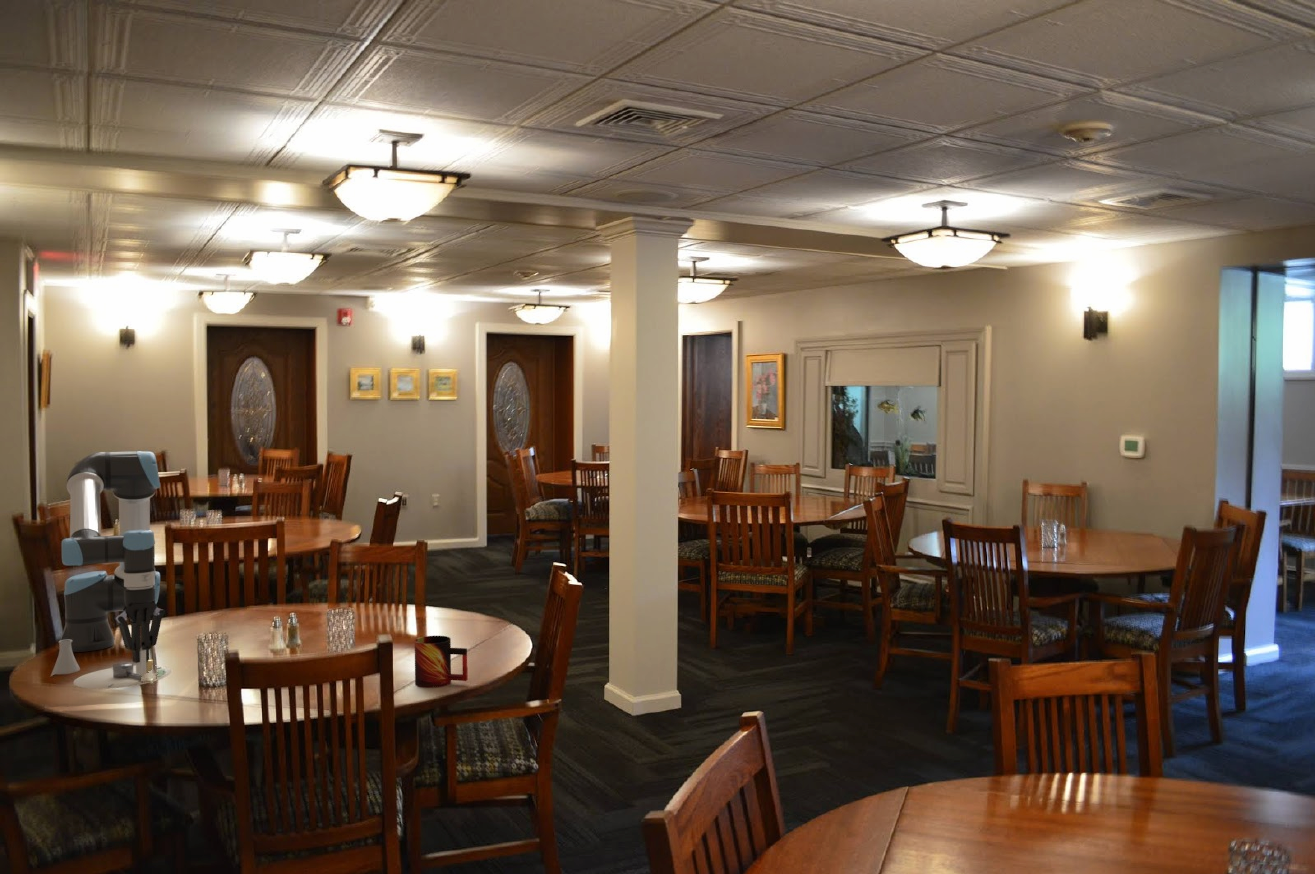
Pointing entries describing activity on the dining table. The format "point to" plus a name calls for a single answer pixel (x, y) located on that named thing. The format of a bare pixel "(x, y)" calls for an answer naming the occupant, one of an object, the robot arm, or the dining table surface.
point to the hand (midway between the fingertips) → (141, 673)
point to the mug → (437, 662)
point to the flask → (65, 659)
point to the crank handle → (129, 669)
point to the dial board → (114, 679)
